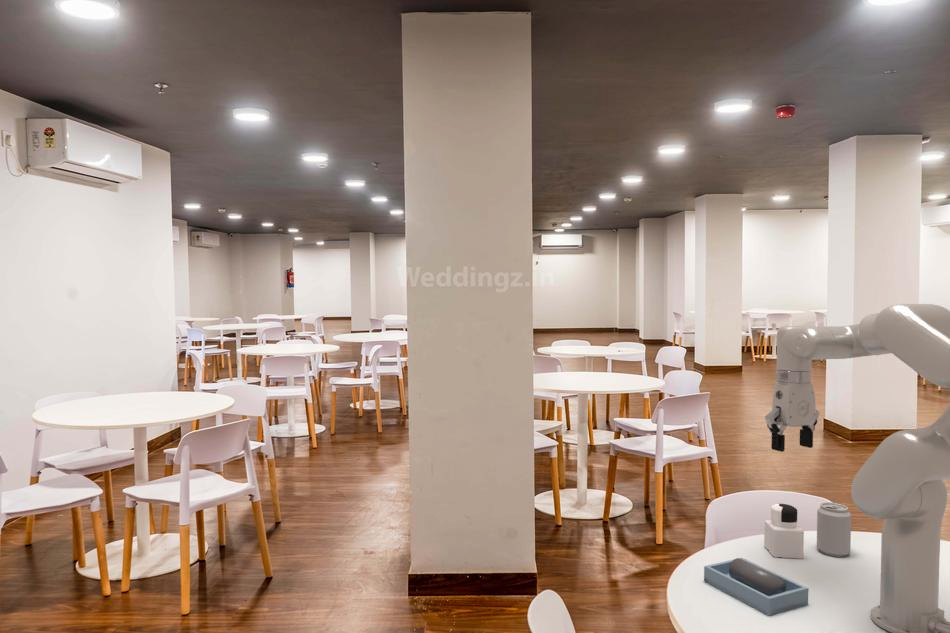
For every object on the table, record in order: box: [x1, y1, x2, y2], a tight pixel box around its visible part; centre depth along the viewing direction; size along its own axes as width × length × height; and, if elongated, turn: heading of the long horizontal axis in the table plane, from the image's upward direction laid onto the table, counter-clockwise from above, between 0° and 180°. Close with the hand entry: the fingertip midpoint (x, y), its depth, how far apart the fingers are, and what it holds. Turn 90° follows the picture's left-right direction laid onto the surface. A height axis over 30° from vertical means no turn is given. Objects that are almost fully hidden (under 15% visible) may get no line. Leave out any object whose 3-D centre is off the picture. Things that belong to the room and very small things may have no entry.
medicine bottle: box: [763, 503, 805, 559], centre depth 163 cm, size 7×7×12 cm
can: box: [816, 501, 852, 558], centre depth 164 cm, size 8×8×12 cm
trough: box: [703, 557, 809, 617], centre depth 141 cm, size 18×12×4 cm, turn 25°
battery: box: [729, 557, 786, 596], centre depth 141 cm, size 12×5×5 cm, turn 25°
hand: (792, 448), depth 155 cm, fingers open, 9 cm apart
